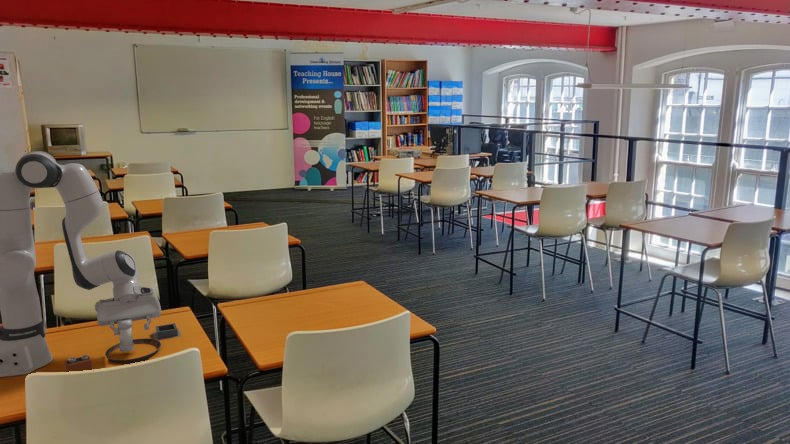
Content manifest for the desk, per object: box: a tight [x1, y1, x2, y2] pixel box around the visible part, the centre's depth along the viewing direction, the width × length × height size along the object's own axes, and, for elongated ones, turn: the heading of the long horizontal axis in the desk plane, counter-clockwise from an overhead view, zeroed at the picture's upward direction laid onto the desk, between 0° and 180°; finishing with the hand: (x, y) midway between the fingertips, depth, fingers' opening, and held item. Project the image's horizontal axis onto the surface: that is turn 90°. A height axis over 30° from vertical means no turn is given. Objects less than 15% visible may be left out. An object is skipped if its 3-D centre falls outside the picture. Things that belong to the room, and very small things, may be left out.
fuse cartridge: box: [116, 319, 135, 353], centre depth 202 cm, size 4×4×10 cm
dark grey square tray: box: [152, 322, 182, 341], centre depth 220 cm, size 9×9×4 cm
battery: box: [64, 354, 94, 373], centre depth 180 cm, size 4×7×10 cm, turn 127°
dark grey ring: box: [105, 337, 162, 366], centre depth 204 cm, size 18×18×3 cm
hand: (131, 331), depth 202 cm, fingers open, 8 cm apart
